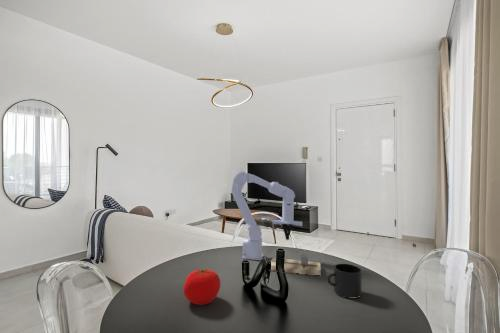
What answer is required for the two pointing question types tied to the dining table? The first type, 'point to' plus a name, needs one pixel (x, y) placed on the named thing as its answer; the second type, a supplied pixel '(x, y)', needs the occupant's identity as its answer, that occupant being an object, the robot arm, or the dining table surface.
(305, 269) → the board
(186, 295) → the tomato
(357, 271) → the mug
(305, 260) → the fader tab
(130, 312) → the dining table surface
